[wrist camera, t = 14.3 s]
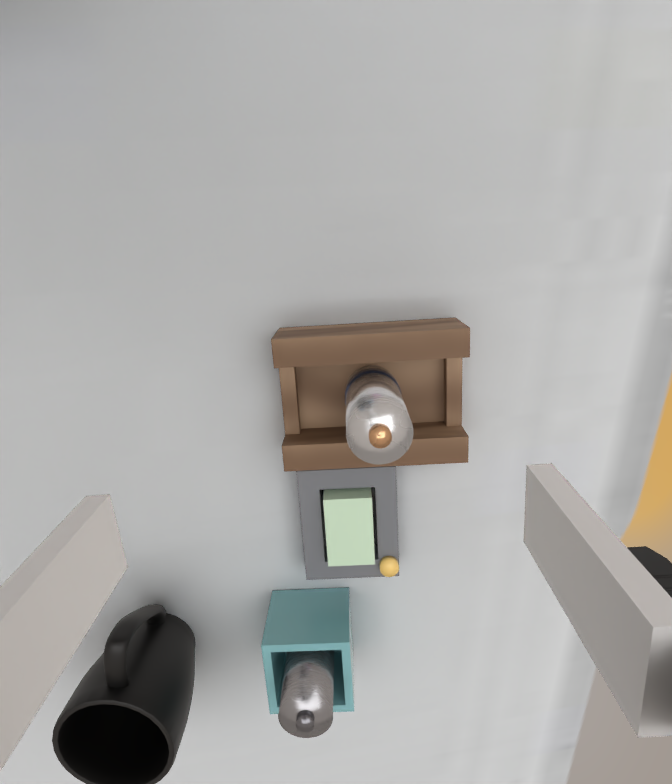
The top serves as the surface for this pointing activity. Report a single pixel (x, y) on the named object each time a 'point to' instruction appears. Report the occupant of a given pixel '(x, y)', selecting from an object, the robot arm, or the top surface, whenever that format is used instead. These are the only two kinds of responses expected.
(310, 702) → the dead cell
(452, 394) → the trough
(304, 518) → the frame
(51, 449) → the top surface
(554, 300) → the top surface
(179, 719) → the mug
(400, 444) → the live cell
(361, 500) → the pale green block
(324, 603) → the teal open bin
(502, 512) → the top surface
